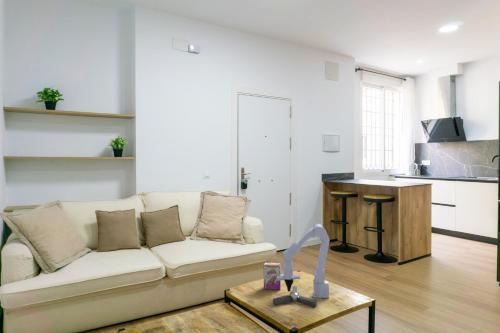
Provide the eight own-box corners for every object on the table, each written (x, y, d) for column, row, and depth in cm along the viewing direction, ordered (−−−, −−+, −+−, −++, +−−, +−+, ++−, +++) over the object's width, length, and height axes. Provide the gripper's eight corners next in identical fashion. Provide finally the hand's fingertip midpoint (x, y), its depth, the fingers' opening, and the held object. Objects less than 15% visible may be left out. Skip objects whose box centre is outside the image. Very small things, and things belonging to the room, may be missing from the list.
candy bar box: (263, 289, 217) (263, 264, 216) (264, 286, 221) (264, 262, 221) (280, 290, 214) (280, 265, 214) (281, 287, 219) (280, 262, 219)
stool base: (316, 299, 199) (316, 292, 199) (317, 307, 189) (317, 300, 188) (274, 297, 203) (273, 290, 203) (272, 305, 193) (272, 298, 192)
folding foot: (297, 297, 202) (297, 293, 201) (292, 297, 202) (292, 293, 202) (296, 290, 212) (296, 286, 212) (292, 290, 213) (292, 286, 213)
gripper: (297, 266, 212) (298, 287, 213) (275, 268, 211) (276, 289, 211) (300, 270, 205) (301, 291, 205) (277, 272, 204) (278, 293, 204)
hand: (288, 290), depth 208 cm, fingers closed
